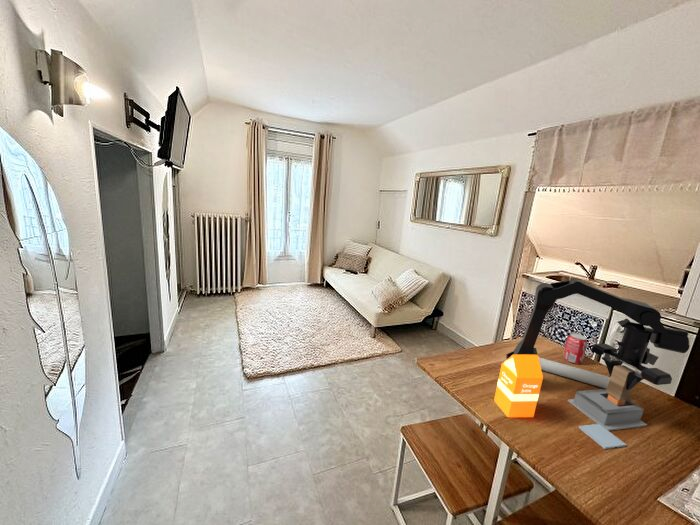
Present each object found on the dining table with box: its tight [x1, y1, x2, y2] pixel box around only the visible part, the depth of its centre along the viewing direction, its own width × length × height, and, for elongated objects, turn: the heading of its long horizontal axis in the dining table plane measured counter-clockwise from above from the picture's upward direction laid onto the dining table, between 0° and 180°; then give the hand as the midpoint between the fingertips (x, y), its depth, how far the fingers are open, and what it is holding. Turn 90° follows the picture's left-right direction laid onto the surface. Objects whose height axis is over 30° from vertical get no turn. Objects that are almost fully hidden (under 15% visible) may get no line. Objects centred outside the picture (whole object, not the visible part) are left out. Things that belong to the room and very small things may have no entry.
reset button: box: [607, 394, 625, 406], centre depth 92 cm, size 3×3×2 cm
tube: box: [538, 356, 610, 389], centre depth 110 cm, size 5×5×25 cm
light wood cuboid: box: [606, 364, 635, 401], centre depth 90 cm, size 4×4×10 cm
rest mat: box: [578, 423, 627, 450], centre depth 82 cm, size 8×8×1 cm
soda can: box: [562, 332, 588, 365], centre depth 122 cm, size 7×7×12 cm
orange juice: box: [493, 355, 544, 418], centre depth 89 cm, size 8×9×20 cm
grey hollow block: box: [567, 388, 648, 432], centre depth 92 cm, size 16×13×5 cm
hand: (620, 385), depth 90 cm, fingers closed on light wood cuboid, 4 cm apart
